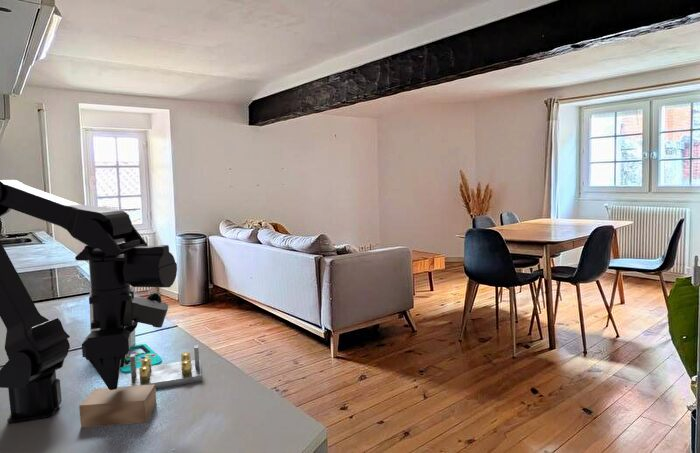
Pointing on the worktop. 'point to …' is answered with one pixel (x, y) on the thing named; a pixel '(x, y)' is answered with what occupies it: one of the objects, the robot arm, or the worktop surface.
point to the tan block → (118, 405)
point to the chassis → (166, 371)
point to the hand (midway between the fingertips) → (117, 377)
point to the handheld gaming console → (150, 354)
